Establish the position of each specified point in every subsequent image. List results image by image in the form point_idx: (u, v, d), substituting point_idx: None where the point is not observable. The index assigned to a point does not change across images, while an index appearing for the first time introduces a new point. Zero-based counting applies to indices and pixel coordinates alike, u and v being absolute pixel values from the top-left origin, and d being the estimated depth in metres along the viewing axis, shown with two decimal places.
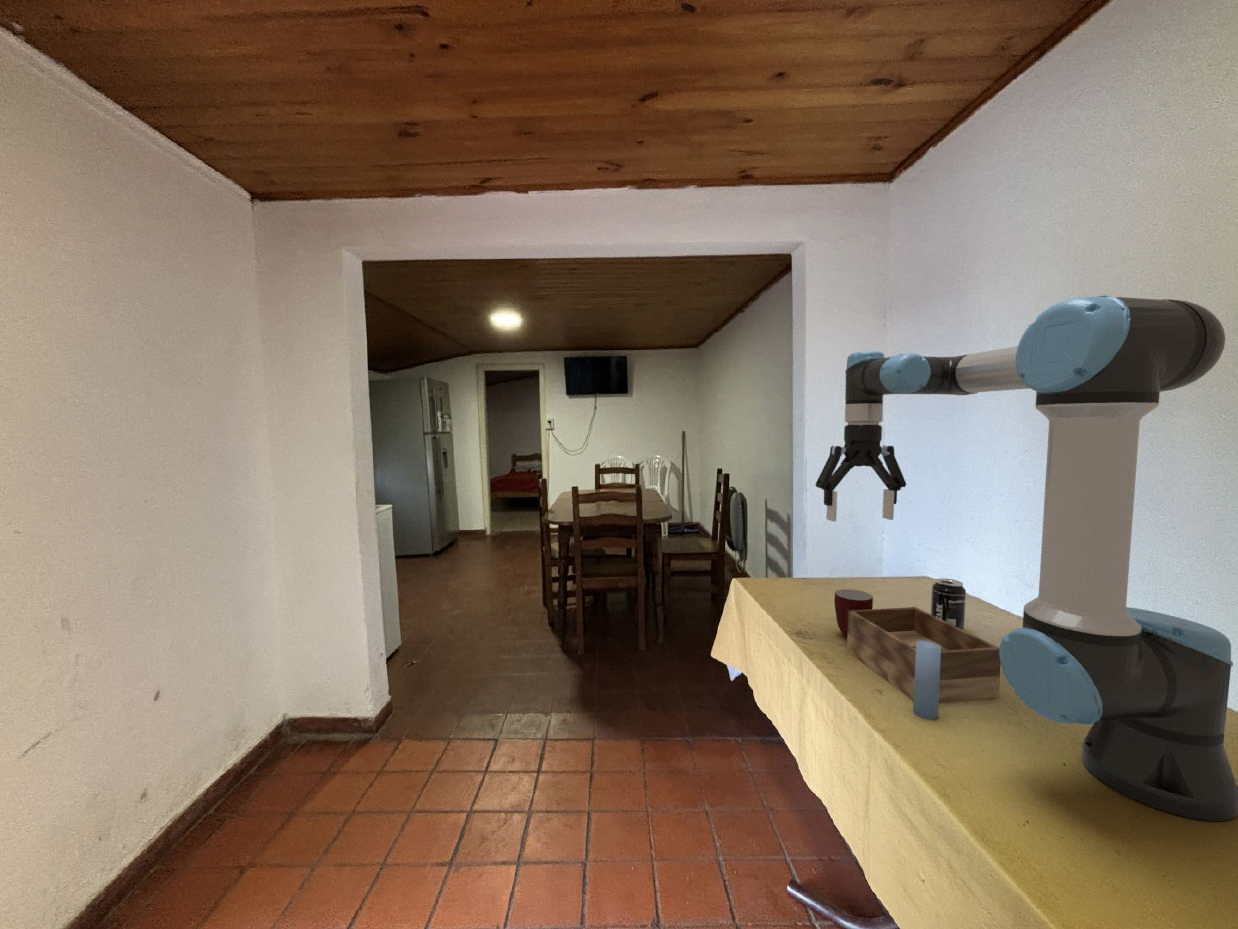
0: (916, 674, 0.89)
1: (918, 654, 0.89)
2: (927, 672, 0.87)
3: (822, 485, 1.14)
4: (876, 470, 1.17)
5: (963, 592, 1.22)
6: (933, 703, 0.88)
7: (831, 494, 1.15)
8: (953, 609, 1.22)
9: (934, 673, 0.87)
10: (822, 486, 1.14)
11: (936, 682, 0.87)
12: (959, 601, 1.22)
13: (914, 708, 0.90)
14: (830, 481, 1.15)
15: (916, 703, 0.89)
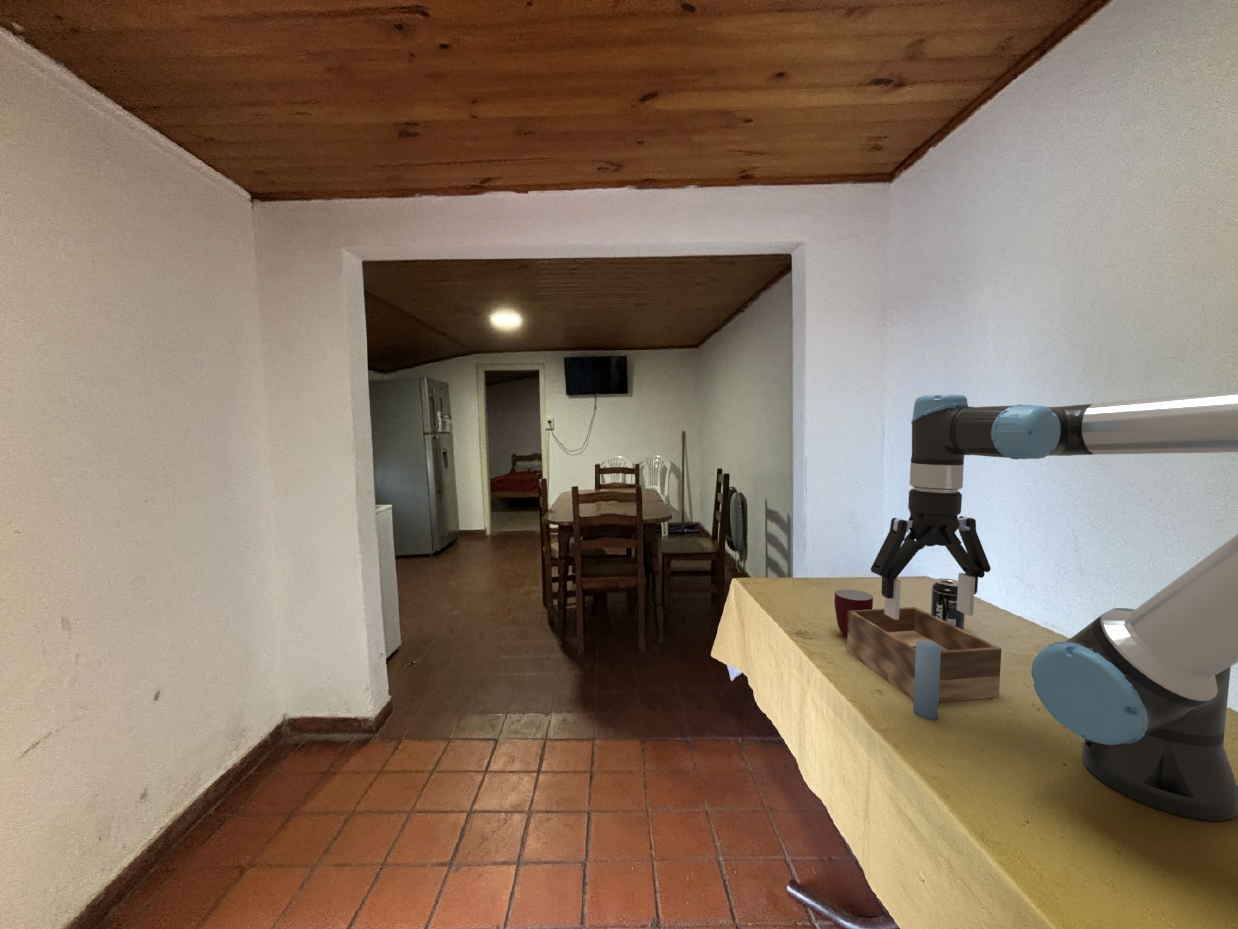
0: (916, 674, 0.89)
1: (918, 655, 0.89)
2: (927, 672, 0.87)
3: (881, 572, 0.85)
4: (951, 549, 0.88)
5: None
6: (933, 703, 0.88)
7: (892, 583, 0.86)
8: (953, 609, 1.22)
9: (934, 673, 0.87)
10: (881, 574, 0.85)
11: (936, 682, 0.87)
12: None
13: (914, 708, 0.90)
14: (891, 565, 0.87)
15: (916, 703, 0.89)
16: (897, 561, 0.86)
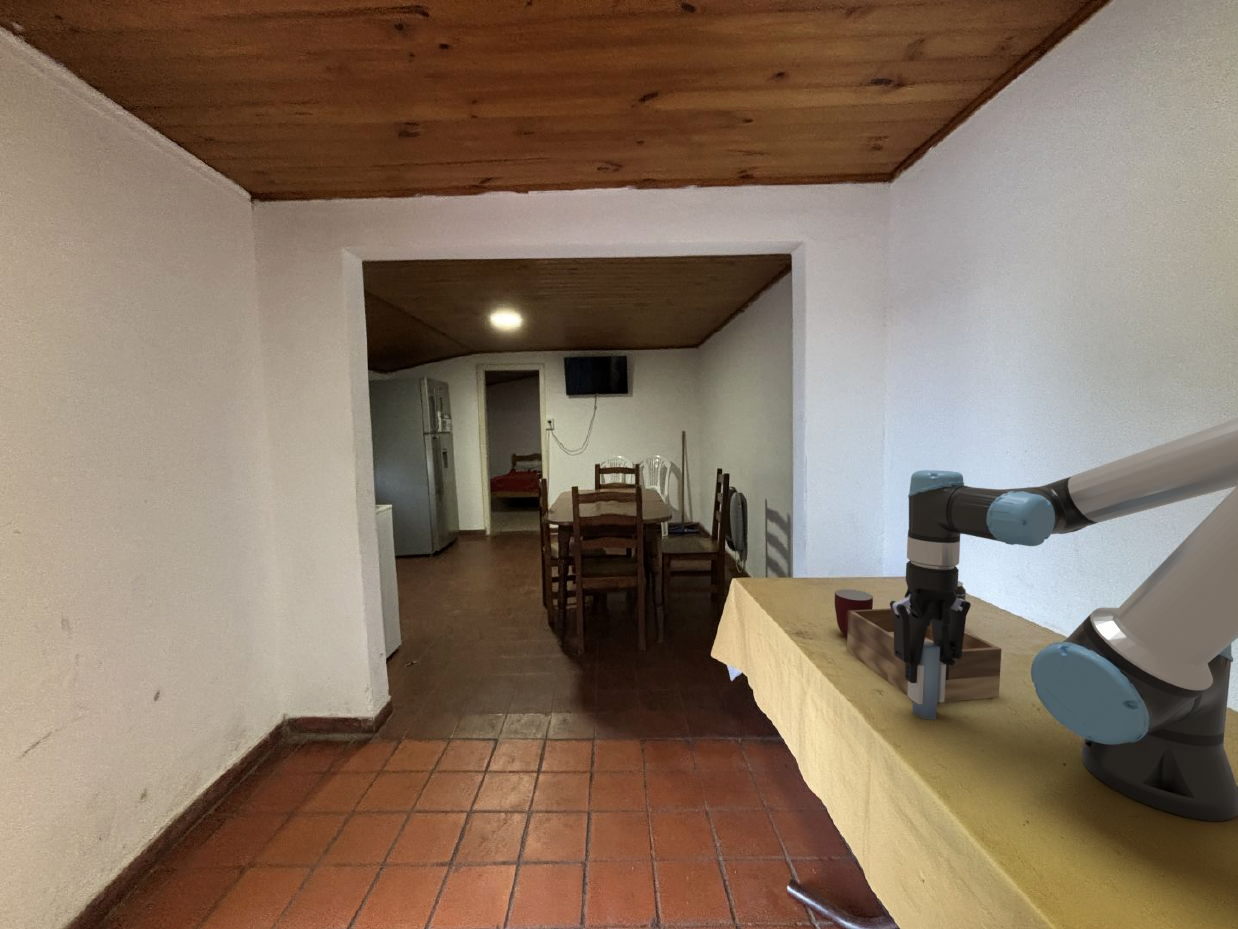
0: None
1: None
2: (926, 672, 0.87)
3: (905, 659, 0.87)
4: (935, 627, 0.89)
5: (963, 592, 1.22)
6: (932, 703, 0.88)
7: (916, 668, 0.88)
8: None
9: (933, 673, 0.87)
10: (906, 661, 0.87)
11: (935, 682, 0.87)
12: None
13: (913, 708, 0.90)
14: (910, 650, 0.88)
15: (915, 703, 0.89)
16: (913, 645, 0.88)
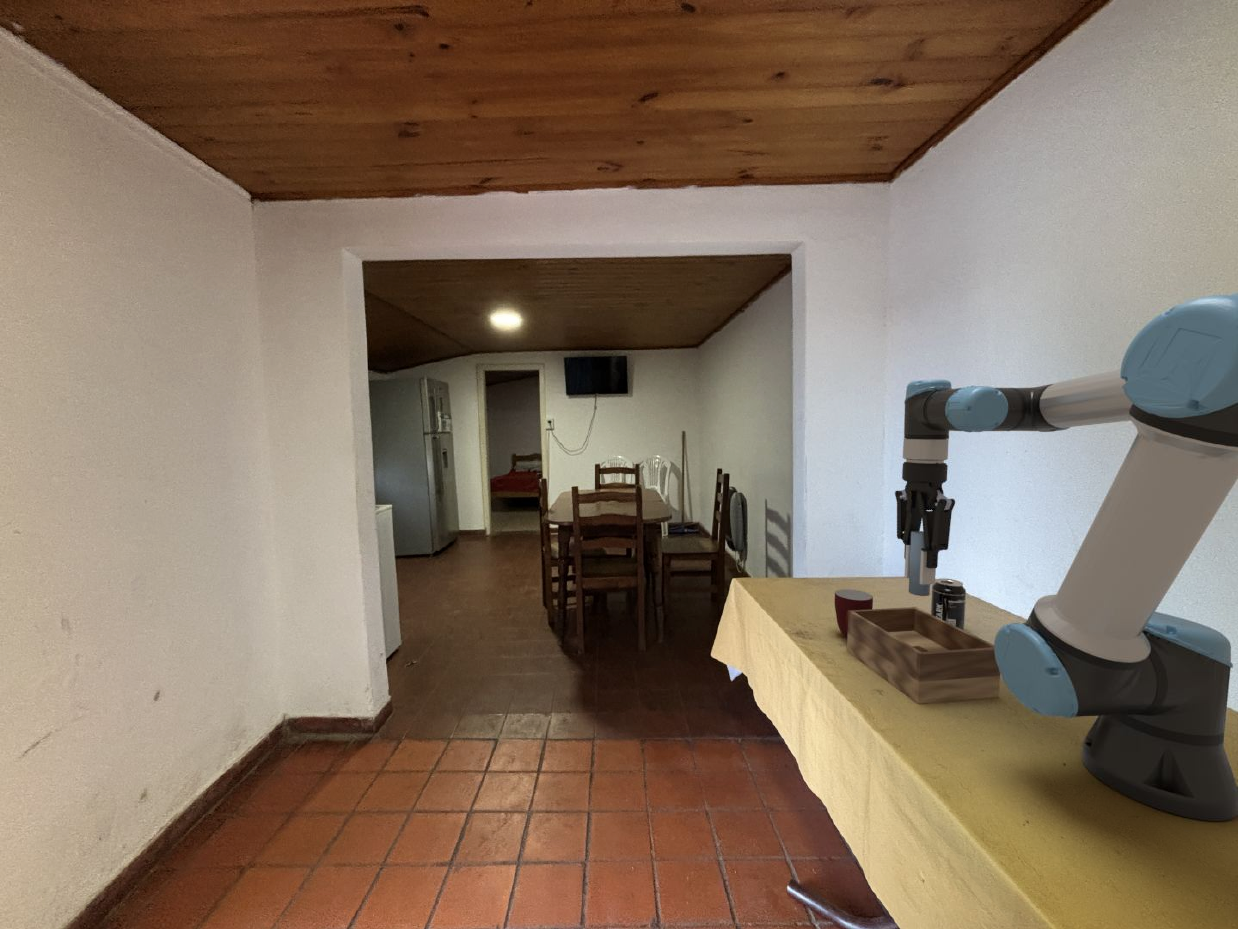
0: None
1: None
2: (910, 551, 1.04)
3: (897, 536, 1.08)
4: None
5: (963, 592, 1.22)
6: (911, 579, 1.03)
7: None
8: (953, 609, 1.22)
9: (911, 553, 1.03)
10: (897, 537, 1.07)
11: (913, 562, 1.02)
12: (960, 601, 1.22)
13: None
14: None
15: None
16: None
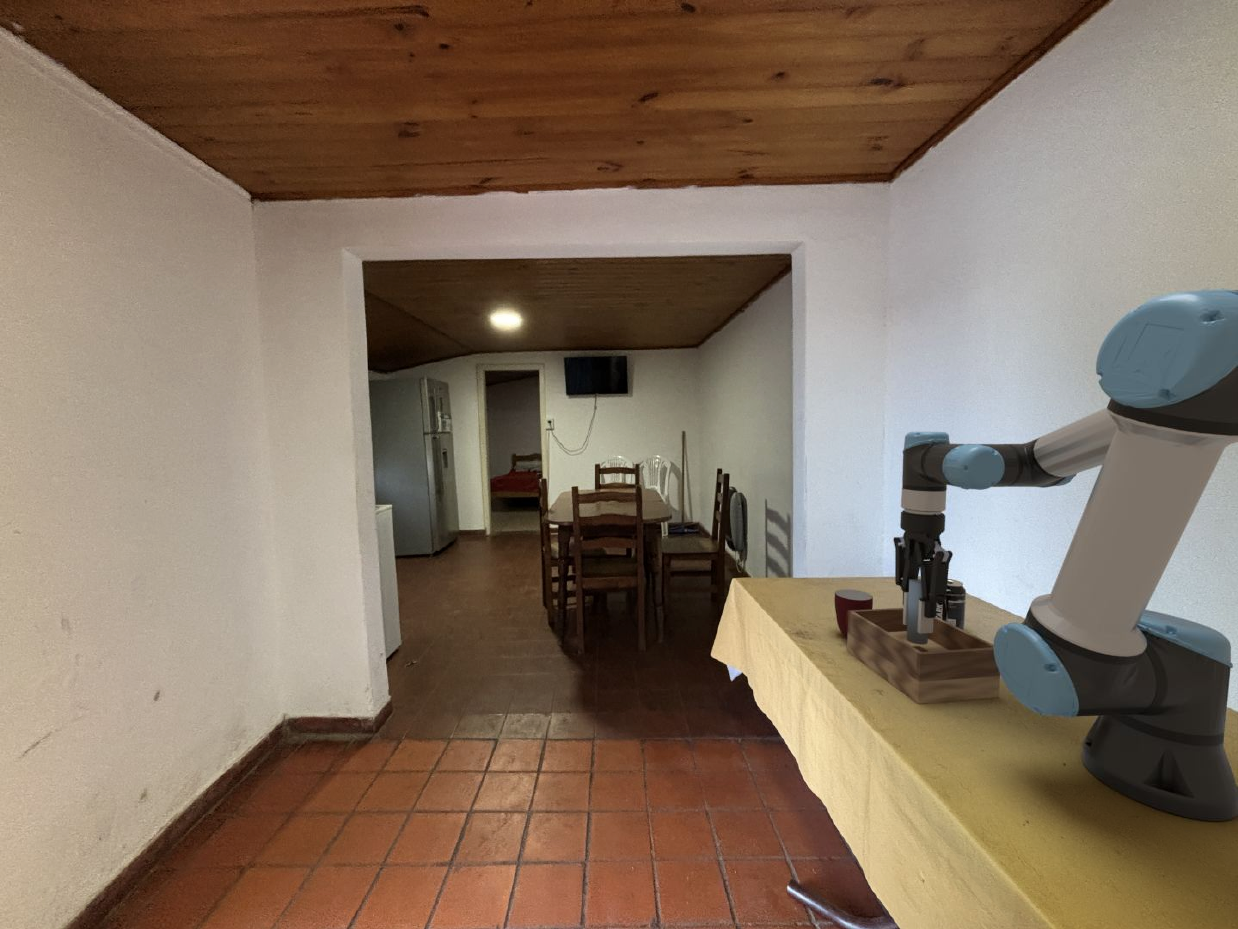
0: None
1: None
2: (908, 599, 1.05)
3: (896, 582, 1.08)
4: None
5: (963, 592, 1.22)
6: (909, 627, 1.04)
7: None
8: (953, 609, 1.22)
9: (909, 601, 1.04)
10: (896, 583, 1.08)
11: (911, 610, 1.03)
12: (960, 601, 1.22)
13: None
14: None
15: None
16: None
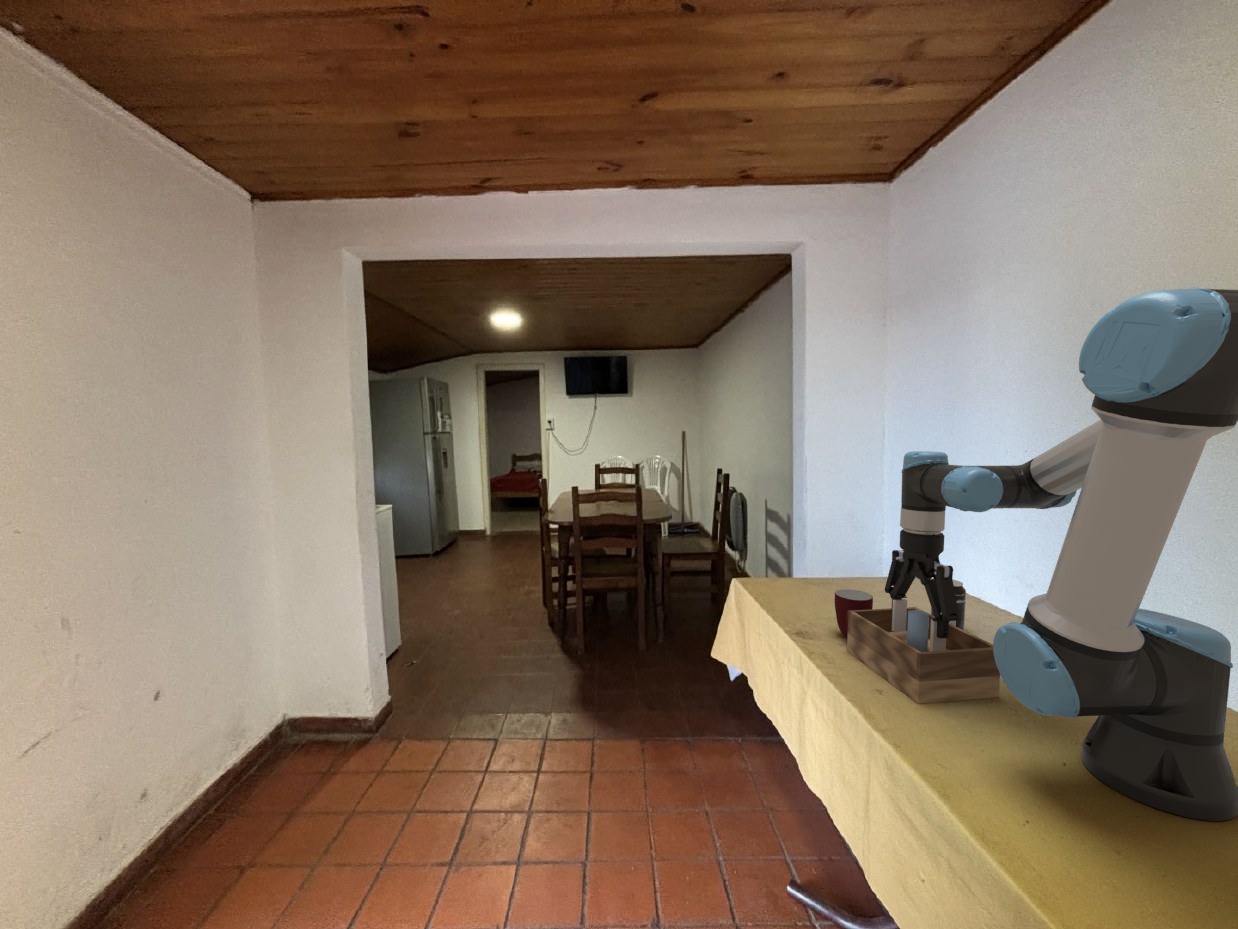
0: None
1: None
2: (907, 630, 1.05)
3: (885, 589, 1.12)
4: None
5: (963, 592, 1.22)
6: None
7: None
8: None
9: (908, 633, 1.04)
10: (885, 590, 1.12)
11: (910, 642, 1.04)
12: (960, 601, 1.22)
13: None
14: None
15: None
16: None
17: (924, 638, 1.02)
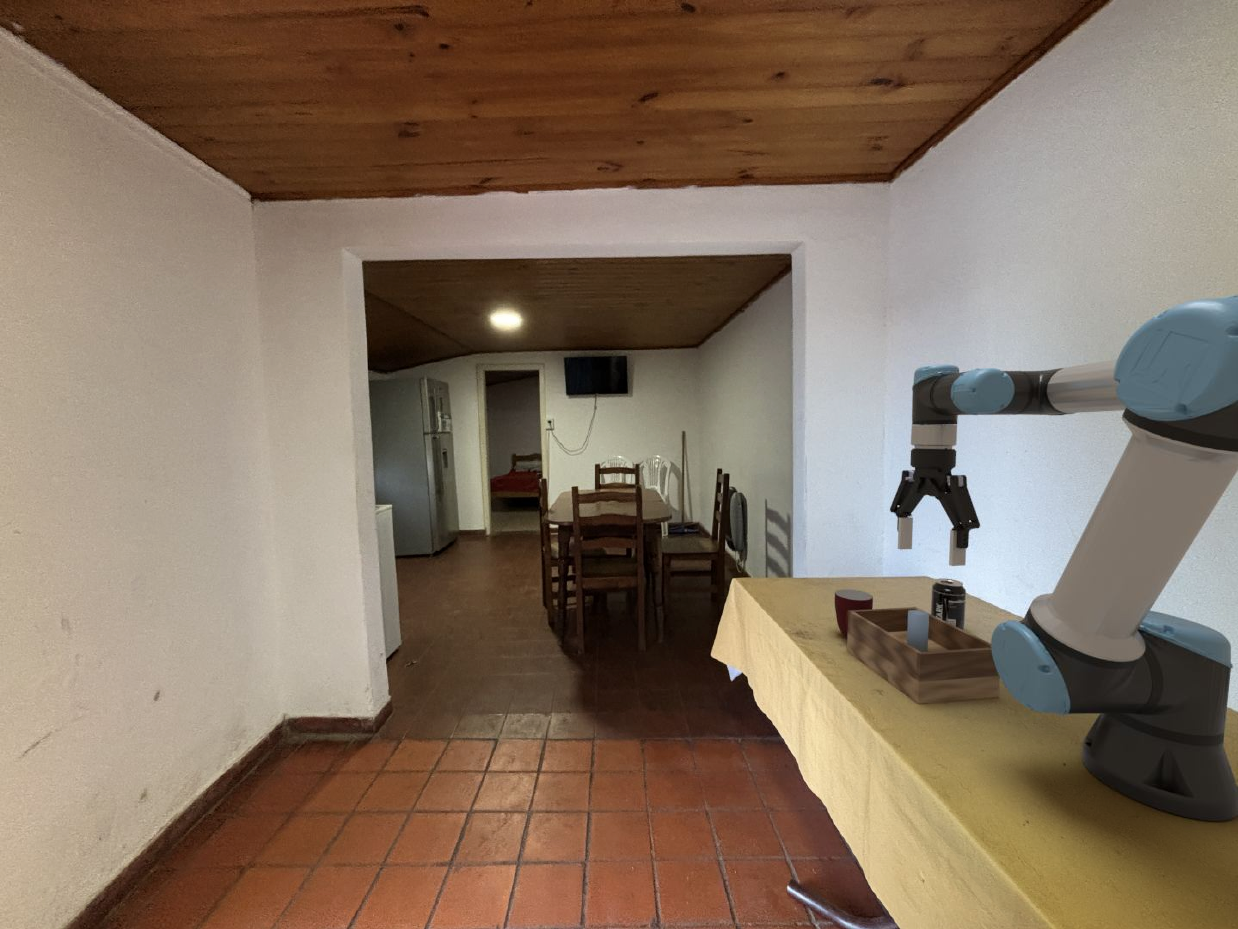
0: None
1: None
2: (907, 630, 1.05)
3: (890, 508, 1.11)
4: None
5: (963, 592, 1.22)
6: None
7: None
8: (953, 609, 1.22)
9: (908, 633, 1.04)
10: (890, 510, 1.11)
11: (910, 642, 1.04)
12: (960, 601, 1.22)
13: None
14: None
15: None
16: None
17: (924, 638, 1.02)
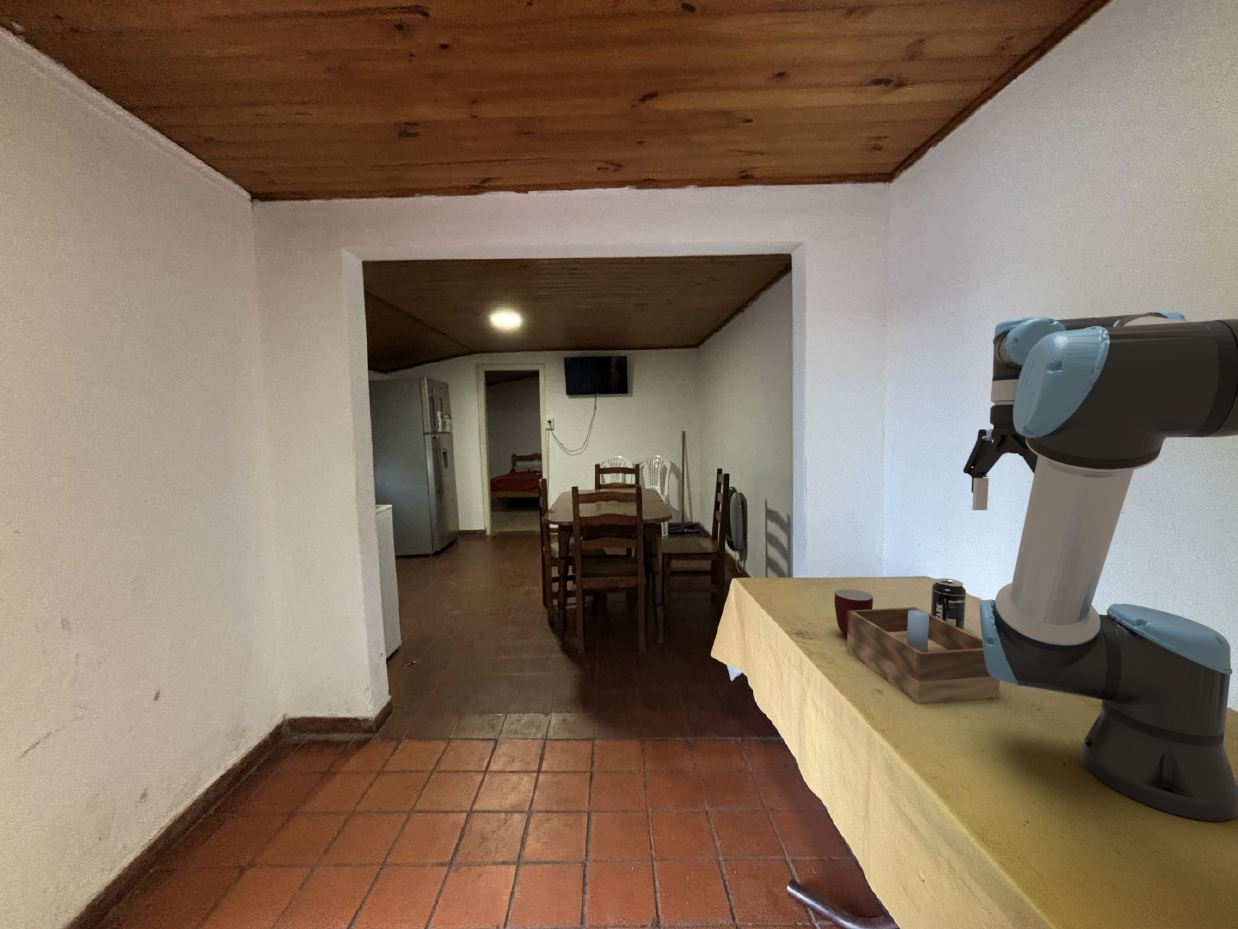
0: None
1: None
2: (907, 630, 1.05)
3: (964, 469, 1.09)
4: None
5: (963, 592, 1.22)
6: None
7: None
8: (953, 609, 1.22)
9: (908, 633, 1.04)
10: (964, 471, 1.09)
11: (910, 642, 1.04)
12: (960, 601, 1.22)
13: None
14: None
15: None
16: None
17: (924, 638, 1.02)
